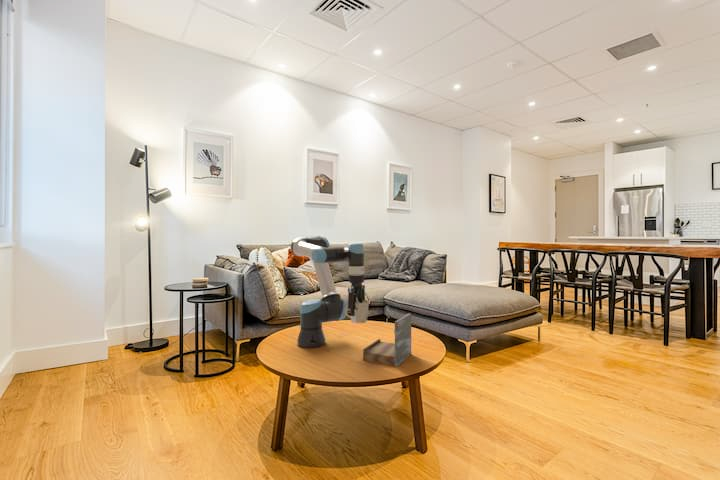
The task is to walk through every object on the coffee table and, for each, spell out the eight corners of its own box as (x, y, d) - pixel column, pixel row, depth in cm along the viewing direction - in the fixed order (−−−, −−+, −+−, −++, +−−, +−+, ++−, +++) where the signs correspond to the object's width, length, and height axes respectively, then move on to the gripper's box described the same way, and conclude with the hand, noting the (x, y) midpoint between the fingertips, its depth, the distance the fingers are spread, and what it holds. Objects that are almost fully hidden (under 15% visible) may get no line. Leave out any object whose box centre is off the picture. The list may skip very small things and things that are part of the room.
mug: (367, 323, 171) (367, 303, 171) (342, 322, 174) (341, 302, 174) (370, 320, 179) (370, 300, 179) (346, 319, 182) (346, 299, 182)
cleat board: (363, 360, 167) (362, 317, 166) (378, 348, 183) (378, 310, 182) (398, 366, 159) (397, 322, 158) (411, 354, 175) (411, 313, 174)
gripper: (353, 276, 166) (354, 326, 167) (371, 272, 183) (372, 317, 183) (340, 276, 170) (340, 324, 170) (358, 272, 187) (359, 316, 187)
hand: (357, 320), depth 177 cm, fingers closed on mug, 6 cm apart
